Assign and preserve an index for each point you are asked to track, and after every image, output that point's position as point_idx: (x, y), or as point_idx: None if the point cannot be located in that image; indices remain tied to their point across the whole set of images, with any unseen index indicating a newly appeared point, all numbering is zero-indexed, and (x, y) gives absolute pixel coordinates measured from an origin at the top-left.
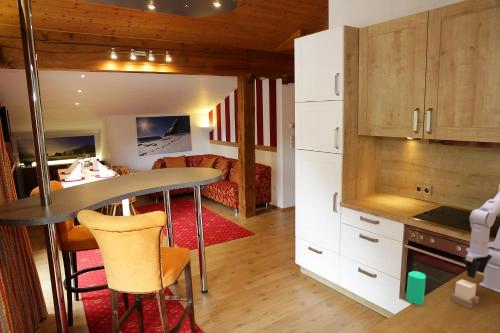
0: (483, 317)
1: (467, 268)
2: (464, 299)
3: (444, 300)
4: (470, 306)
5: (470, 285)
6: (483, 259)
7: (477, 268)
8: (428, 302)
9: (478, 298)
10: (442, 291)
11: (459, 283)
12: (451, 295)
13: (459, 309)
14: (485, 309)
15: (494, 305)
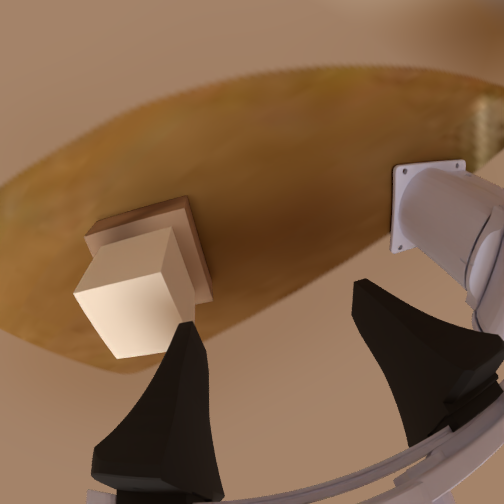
0: None
1: (160, 383)
2: None
3: (71, 213)
4: None
5: (140, 345)
6: (410, 401)
7: (365, 299)
8: (5, 208)
9: (204, 299)
10: (131, 131)
11: (86, 310)
12: (86, 239)
13: None
14: None
15: (262, 307)
